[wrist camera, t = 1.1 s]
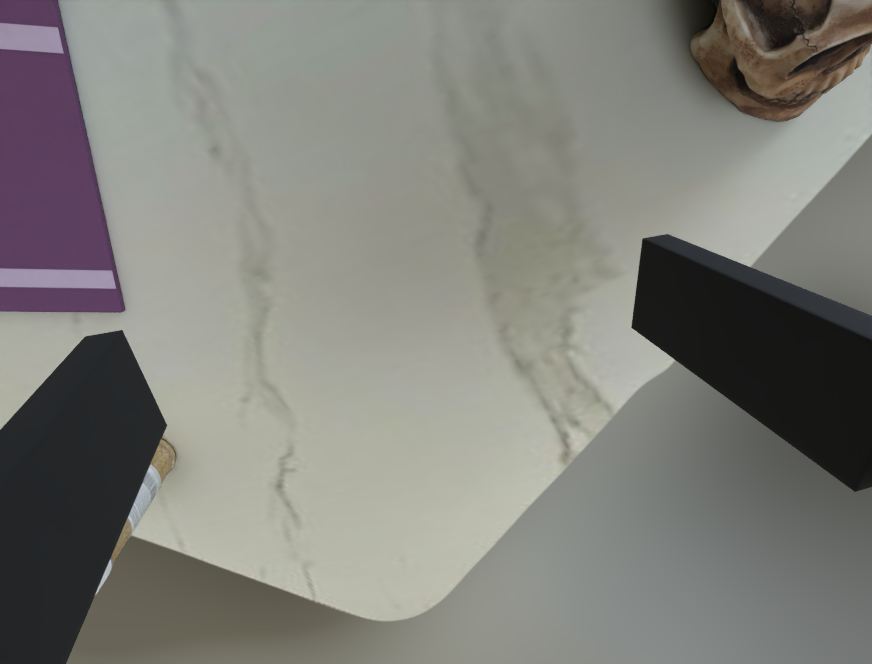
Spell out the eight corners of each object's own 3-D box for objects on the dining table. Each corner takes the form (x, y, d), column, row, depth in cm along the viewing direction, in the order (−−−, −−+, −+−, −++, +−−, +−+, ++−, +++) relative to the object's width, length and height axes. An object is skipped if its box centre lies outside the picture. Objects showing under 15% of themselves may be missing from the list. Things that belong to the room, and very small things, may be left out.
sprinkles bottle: (124, 429, 41) (15, 556, 29) (179, 437, 42) (97, 563, 30) (123, 471, 43) (20, 607, 30) (176, 477, 44) (97, 613, 31)
